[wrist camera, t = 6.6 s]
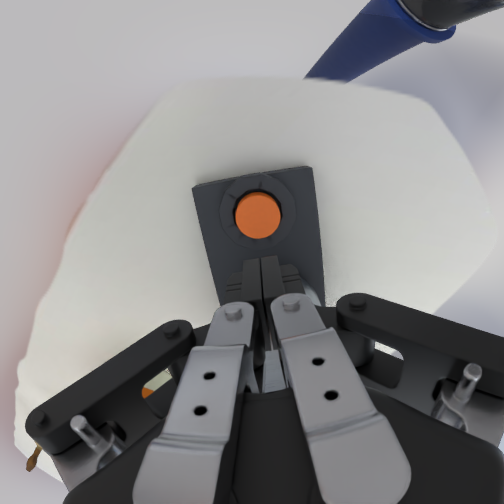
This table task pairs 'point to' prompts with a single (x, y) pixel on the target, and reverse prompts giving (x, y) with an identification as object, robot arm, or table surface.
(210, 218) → the push button base
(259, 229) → the switch
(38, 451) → the hand bell
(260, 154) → the table surface
